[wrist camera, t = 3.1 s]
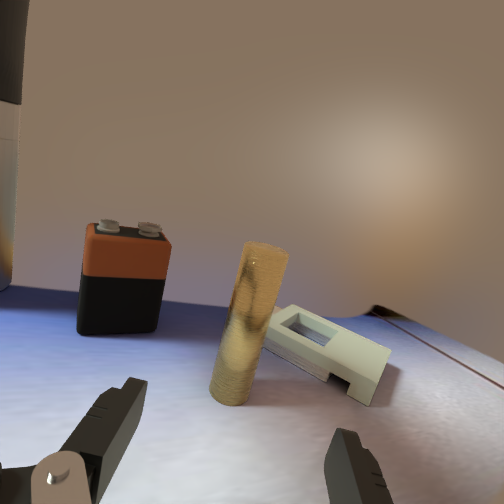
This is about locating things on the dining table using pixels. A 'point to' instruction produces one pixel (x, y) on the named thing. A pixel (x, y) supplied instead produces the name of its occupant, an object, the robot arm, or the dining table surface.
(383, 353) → the plate with square hole
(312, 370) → the chain end lower
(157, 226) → the battery
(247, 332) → the pin
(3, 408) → the dining table surface
